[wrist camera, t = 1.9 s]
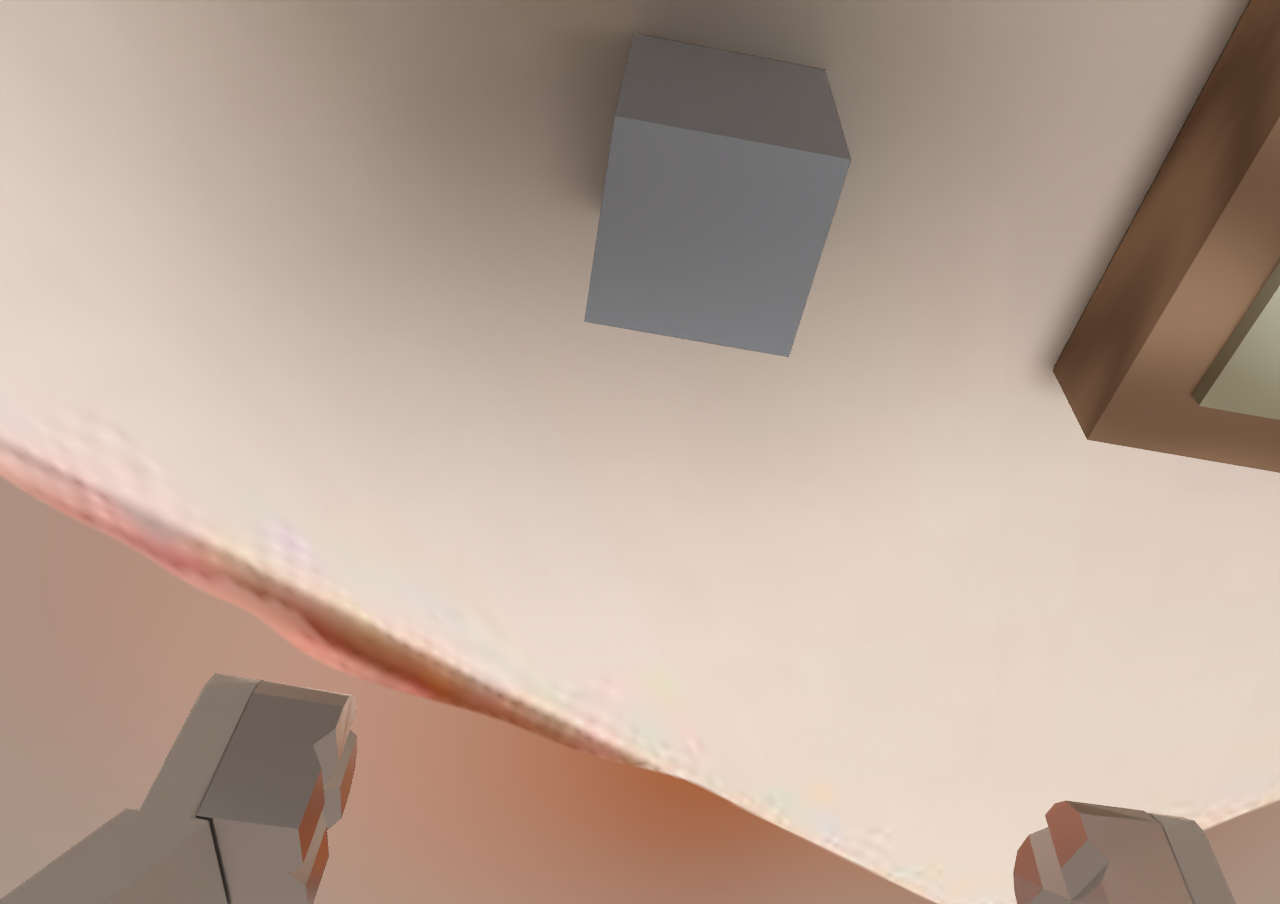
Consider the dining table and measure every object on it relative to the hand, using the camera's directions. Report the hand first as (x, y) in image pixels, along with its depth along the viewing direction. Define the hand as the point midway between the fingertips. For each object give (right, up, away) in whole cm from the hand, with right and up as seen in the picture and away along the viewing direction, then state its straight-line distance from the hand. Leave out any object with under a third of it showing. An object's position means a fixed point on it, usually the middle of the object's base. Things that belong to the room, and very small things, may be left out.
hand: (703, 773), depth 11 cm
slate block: (+1, +12, +15) cm, 19 cm away
